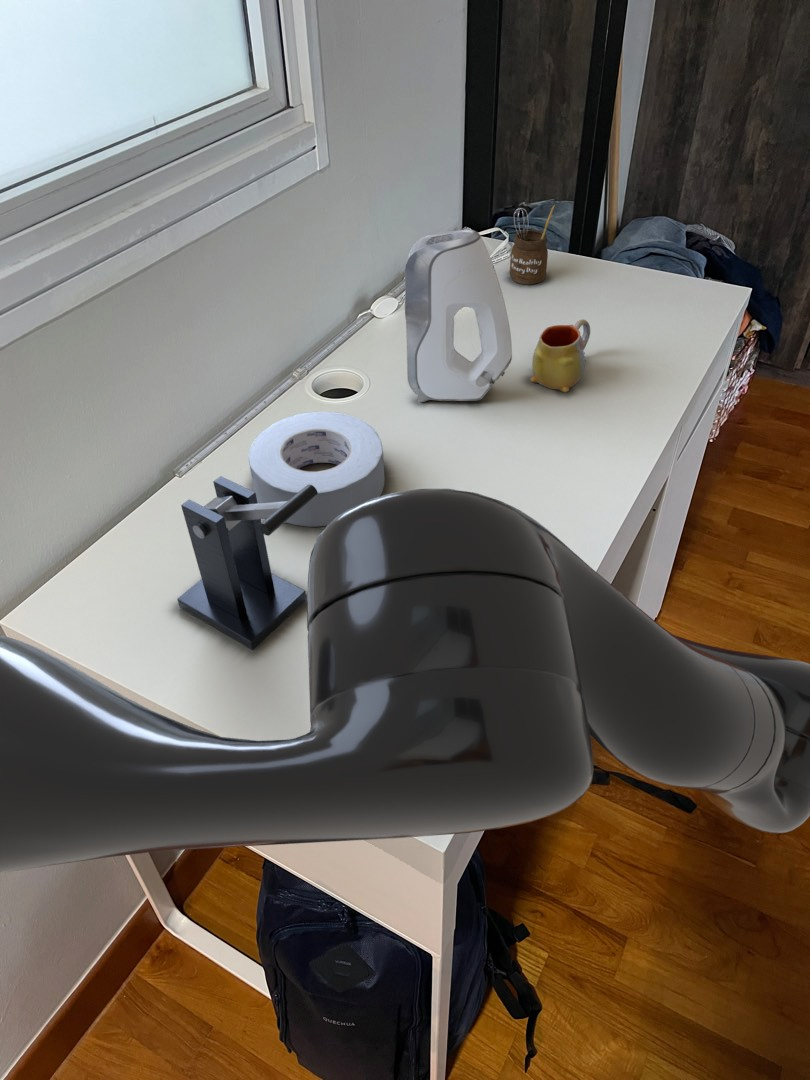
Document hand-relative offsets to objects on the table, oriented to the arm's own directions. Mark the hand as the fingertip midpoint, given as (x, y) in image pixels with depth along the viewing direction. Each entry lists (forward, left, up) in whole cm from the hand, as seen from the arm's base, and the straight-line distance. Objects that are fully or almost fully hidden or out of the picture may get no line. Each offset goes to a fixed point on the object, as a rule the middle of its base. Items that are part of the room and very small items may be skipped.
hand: (352, 540), depth 64 cm
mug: (+51, +28, -17) cm, 60 cm away
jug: (+35, +33, -17) cm, 51 cm away
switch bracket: (-5, +15, -17) cm, 23 cm away
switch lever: (-4, +10, -4) cm, 11 cm away
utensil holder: (+66, +53, -17) cm, 86 cm away
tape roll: (+11, +27, -17) cm, 33 cm away
